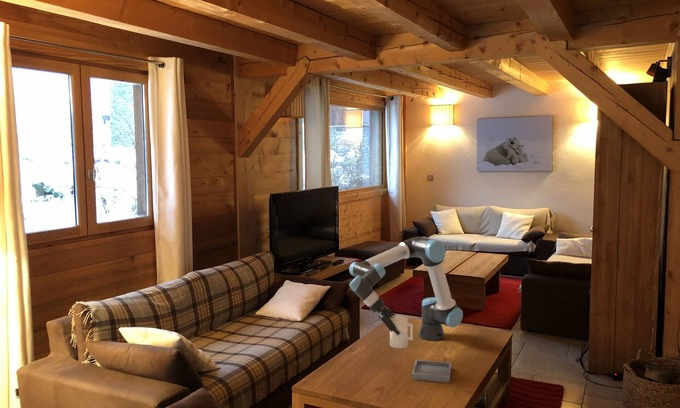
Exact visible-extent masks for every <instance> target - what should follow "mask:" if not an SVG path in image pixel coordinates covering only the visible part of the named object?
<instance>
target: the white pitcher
mask: <svg viewBox="0 0 680 408" xmlns="http://www.w3.org/2000/svg"><path fill="white" fill-rule="evenodd" d="M390 319H391V321H392V322H393V324H394V325H395V326H396V327H397V328H398V329H399V330H400V331H401V332H402V333H403V334H404V335H405V336H406V337H405V338H404V339H403V340H401V339H400V338H399V337H398V336H397V335H396V334H395V333H394V332H393V331H392V332H391V331H390V330H389V346H390V347H391V348H394V349H404V348H407V347H408V346H409V344H408V342H409V341H414V323H413V322H409V317H408V316H405V315H403V314H402V315H401V314H395V315H394V316H391V317H390ZM409 332H410V333H409ZM408 333H409V334H408Z"/></svg>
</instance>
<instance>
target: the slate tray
mask: <svg viewBox="0 0 680 408" xmlns="http://www.w3.org/2000/svg"><path fill="white" fill-rule="evenodd" d="M451 372H452V362H449V361H434V360H426V359H415V360H414V365H413V369H412V372H411V380H414V381H422V382H423V381H424V382H433V383H434V382H435V383H447V384H450V383H451V382H450V380H451Z"/></svg>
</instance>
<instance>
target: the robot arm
mask: <svg viewBox="0 0 680 408" xmlns="http://www.w3.org/2000/svg"><path fill="white" fill-rule="evenodd" d="M446 252H447V249H446V247H445V244H444V243H443V242H442V241H440V240H438V239H434V238H427V237H423V236H415V237H411V238H408V239H406V240H404V241H402V242H400V243H398V245H396V246H394V247H392V248H390V249H388V250H386V251H383V252H381V253H378V254H377V255H374V256H371V257H370V258H368V259H366V260H362V261H361V262H359V261H353V262H352V263H350V264H349V265H350V266H349V267H348V270H349V274H350V275H351V276H353V277H354V278H353V279H352V280H351V281H350V282H349V285H348V286H349V287H350V289H351V290H352V291H353V293H355V294H356V296H357V297H359V298H360V300H362V301H363V304H364V305H366V306H367V307H369V309H370V310H371V311H372V313H378V315H377V316H378V318H379V319H380V320H381V321H382V322H383V324H384V325H385V326H386V327H387V328H388V331H389V332H390V331H391V332H392V331H393V332H394V333H395V334H396V335H397V336H398V337H399V338H400V339H401V340H403V339H404V338H405V337H406V336H405V335H404V334H403V333H402V332H401V331H400V330H399V329H398V328H397V327H396V326H395V325H394V324H393V322H392V321H391V319H390V317H391V316H394V315H396V313H394V312H393V311H392V310H391V308H389V307H388V306H387V304H385V301H384V300H383V299H382V298H381V297H379V295H378V293H377V292H375V291H374V289H373V287H374V286H375V285H376V284H377V283H378V282H379V281H381V280H382V278H383V277H384V276H385V275H386V269H385V267H387V266H390V265H391V264H394V263H397V262H399V261H400V260H402V259H405V260H406V259H410V258H419V259H421V261H422V265H423V266H424V267H426V269H427V271H428V275H429V278H430V282H431V286H432V289H433V293H434V297H426V298H424V299H422V301H421V324H420V326H419V330H418V337H419V338H420V339H422V340H426V341H431V342H433V341H441V340H443V339H444V338H445V331H444V327H443V326H446V327H449V328H456V327H458V326H460V323H461V322H462V319H463V317H464V313H463V310H462V308H460V307H458V306H457V302H456V300H455V299H454V298H452V295H451V291H450V286H449V283H448V280H447V276H446V273H445V269H444V266H443V263H444V262H445V258H446V254H447V253H446Z"/></svg>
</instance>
